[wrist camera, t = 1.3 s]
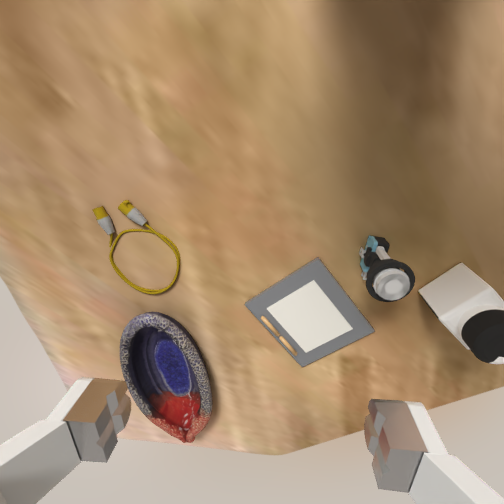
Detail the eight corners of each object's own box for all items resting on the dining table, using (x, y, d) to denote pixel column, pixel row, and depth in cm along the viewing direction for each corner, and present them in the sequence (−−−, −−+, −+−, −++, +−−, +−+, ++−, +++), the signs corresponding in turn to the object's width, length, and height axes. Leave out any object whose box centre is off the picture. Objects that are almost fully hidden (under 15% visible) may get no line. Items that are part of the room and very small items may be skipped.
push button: (379, 277, 44) (404, 319, 35) (344, 271, 45) (359, 311, 36) (394, 236, 42) (425, 270, 33) (356, 230, 42) (377, 262, 33)
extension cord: (175, 200, 43) (171, 203, 41) (184, 292, 50) (181, 299, 48) (95, 196, 44) (87, 200, 42) (114, 288, 51) (108, 294, 49)
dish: (200, 300, 50) (192, 319, 45) (224, 424, 62) (219, 448, 58) (113, 302, 52) (97, 320, 47) (153, 422, 64) (144, 445, 60)
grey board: (318, 256, 44) (319, 261, 43) (373, 328, 48) (375, 334, 47) (245, 302, 49) (244, 307, 47) (301, 364, 53) (302, 370, 52)
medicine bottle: (416, 290, 45) (458, 346, 34) (460, 260, 42) (522, 311, 31) (443, 318, 46) (492, 381, 36) (487, 292, 44) (555, 350, 33)
